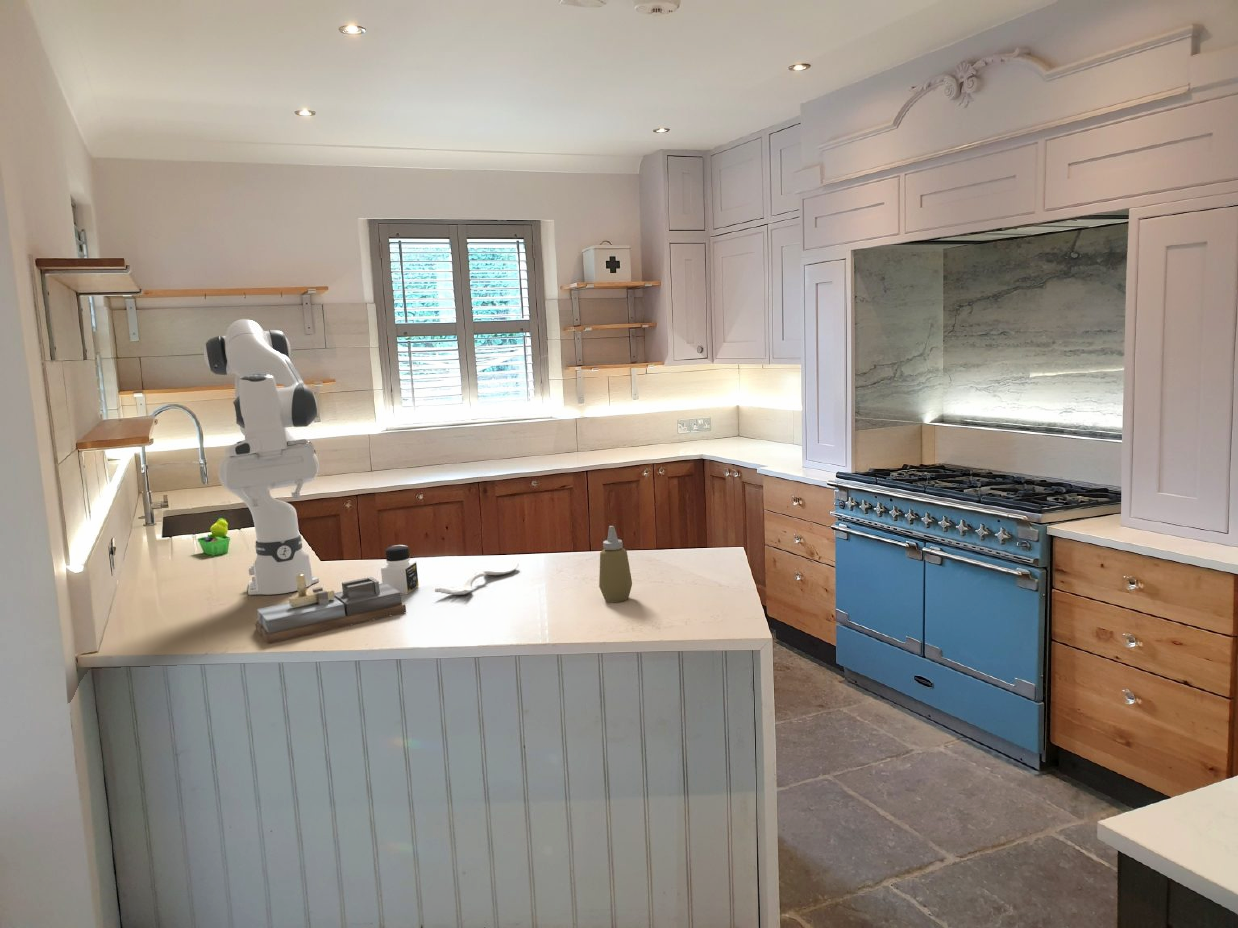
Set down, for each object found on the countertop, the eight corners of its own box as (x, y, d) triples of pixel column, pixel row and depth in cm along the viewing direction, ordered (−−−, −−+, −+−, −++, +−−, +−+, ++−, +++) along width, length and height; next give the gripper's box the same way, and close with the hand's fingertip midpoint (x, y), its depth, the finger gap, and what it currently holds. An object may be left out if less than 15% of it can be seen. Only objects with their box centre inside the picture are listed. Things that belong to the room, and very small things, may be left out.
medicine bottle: (408, 594, 234) (403, 549, 233) (383, 594, 235) (378, 550, 234) (419, 586, 241) (414, 542, 239) (394, 586, 242) (389, 543, 241)
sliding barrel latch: (256, 628, 212) (252, 596, 211) (387, 600, 229) (384, 570, 228) (268, 643, 201) (264, 609, 200) (406, 612, 218) (402, 580, 216)
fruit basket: (198, 553, 305) (193, 520, 303) (224, 547, 311) (220, 515, 309) (209, 557, 296) (205, 524, 295) (236, 551, 302) (232, 519, 301)
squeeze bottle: (611, 606, 211) (605, 531, 209) (593, 599, 218) (588, 526, 215) (639, 599, 215) (634, 525, 213) (621, 592, 222) (616, 521, 220)
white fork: (434, 601, 227) (433, 587, 226) (497, 568, 256) (496, 556, 256) (465, 602, 223) (463, 589, 223) (524, 569, 253) (524, 557, 252)
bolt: (289, 605, 210) (286, 576, 209) (332, 596, 216) (329, 568, 215) (291, 607, 209) (288, 578, 208) (334, 598, 214) (331, 570, 213)
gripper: (309, 438, 215) (317, 495, 216) (217, 449, 204) (227, 509, 205) (315, 437, 210) (324, 496, 211) (222, 449, 199) (231, 511, 200)
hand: (275, 502), depth 208 cm, fingers open, 8 cm apart
